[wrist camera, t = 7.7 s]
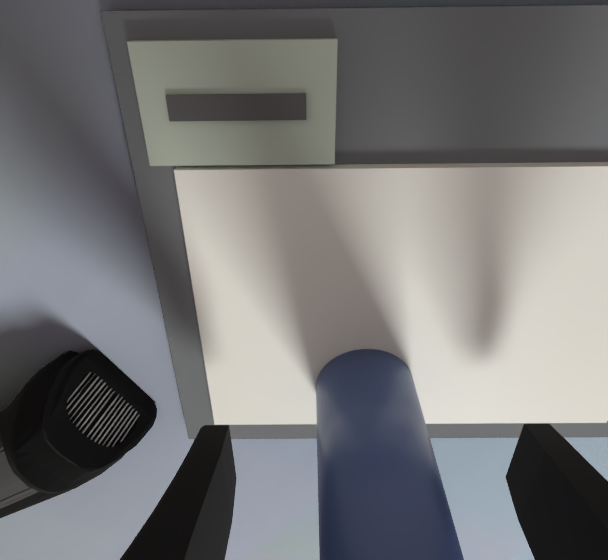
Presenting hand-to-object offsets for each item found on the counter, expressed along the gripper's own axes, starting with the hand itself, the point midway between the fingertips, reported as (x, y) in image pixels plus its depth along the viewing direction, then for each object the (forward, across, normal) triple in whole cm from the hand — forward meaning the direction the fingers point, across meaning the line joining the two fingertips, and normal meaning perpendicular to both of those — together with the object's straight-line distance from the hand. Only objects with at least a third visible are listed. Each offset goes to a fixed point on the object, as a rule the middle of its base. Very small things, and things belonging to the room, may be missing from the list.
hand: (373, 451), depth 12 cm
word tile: (+3, +3, -8) cm, 9 cm away
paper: (+3, -2, -2) cm, 4 cm away
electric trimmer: (+3, +13, +4) cm, 14 cm away
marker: (+2, 0, 0) cm, 2 cm away
